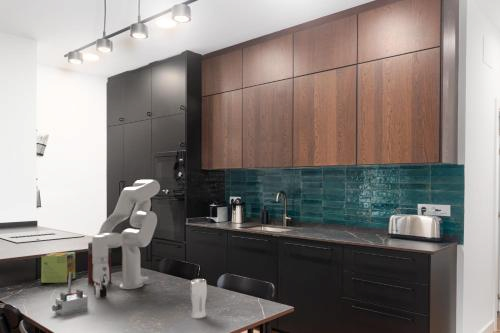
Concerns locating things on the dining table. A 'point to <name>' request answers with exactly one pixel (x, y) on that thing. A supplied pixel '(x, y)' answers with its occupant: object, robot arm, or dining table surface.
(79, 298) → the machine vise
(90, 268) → the red canister
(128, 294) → the dining table surface
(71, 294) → the tow hook
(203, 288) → the beer glass
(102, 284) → the bottle
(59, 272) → the protein box
